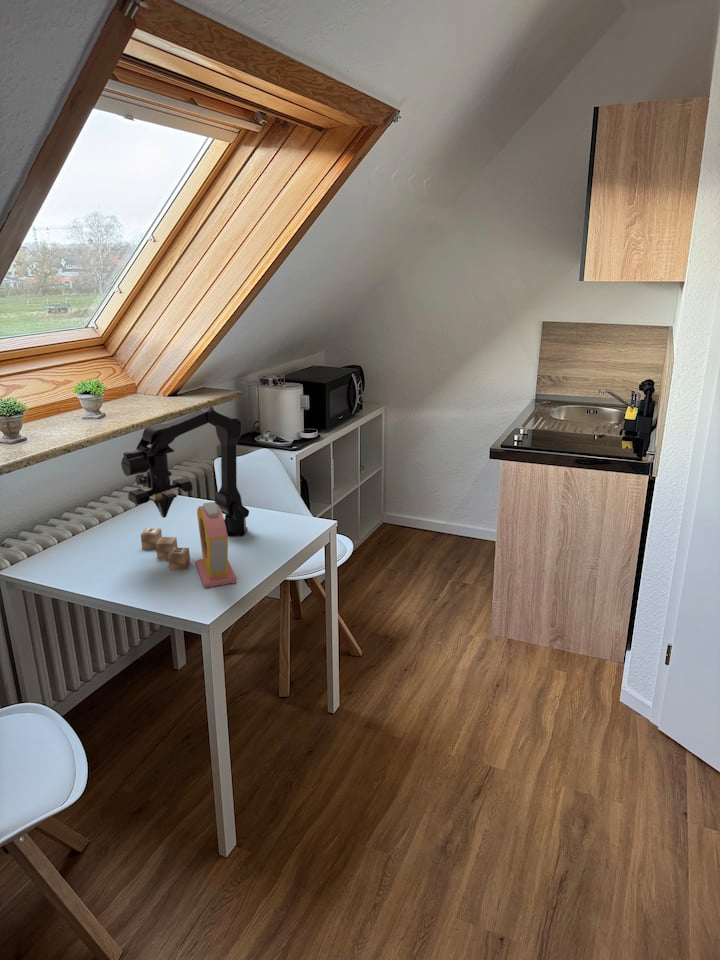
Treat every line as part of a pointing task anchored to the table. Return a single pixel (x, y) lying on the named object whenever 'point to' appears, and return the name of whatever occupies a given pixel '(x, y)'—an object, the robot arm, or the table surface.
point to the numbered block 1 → (150, 537)
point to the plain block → (165, 546)
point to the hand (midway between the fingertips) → (164, 517)
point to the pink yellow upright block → (213, 547)
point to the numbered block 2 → (178, 558)
